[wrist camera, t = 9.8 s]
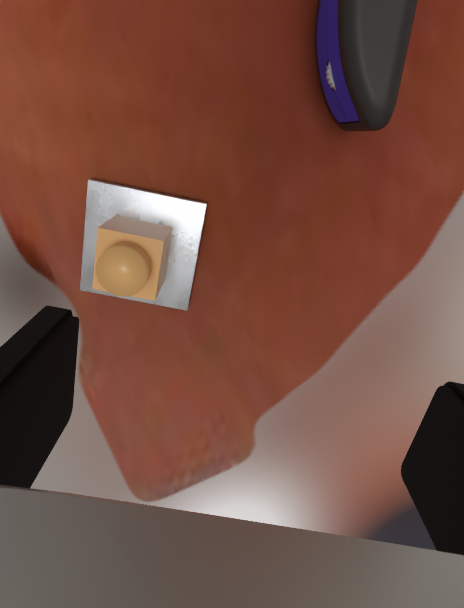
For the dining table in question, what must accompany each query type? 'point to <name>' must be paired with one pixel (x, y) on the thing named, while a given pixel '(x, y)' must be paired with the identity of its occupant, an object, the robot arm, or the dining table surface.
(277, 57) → the dining table surface
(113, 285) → the cube with dome knob
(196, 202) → the plate
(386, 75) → the grey blue curved piece
